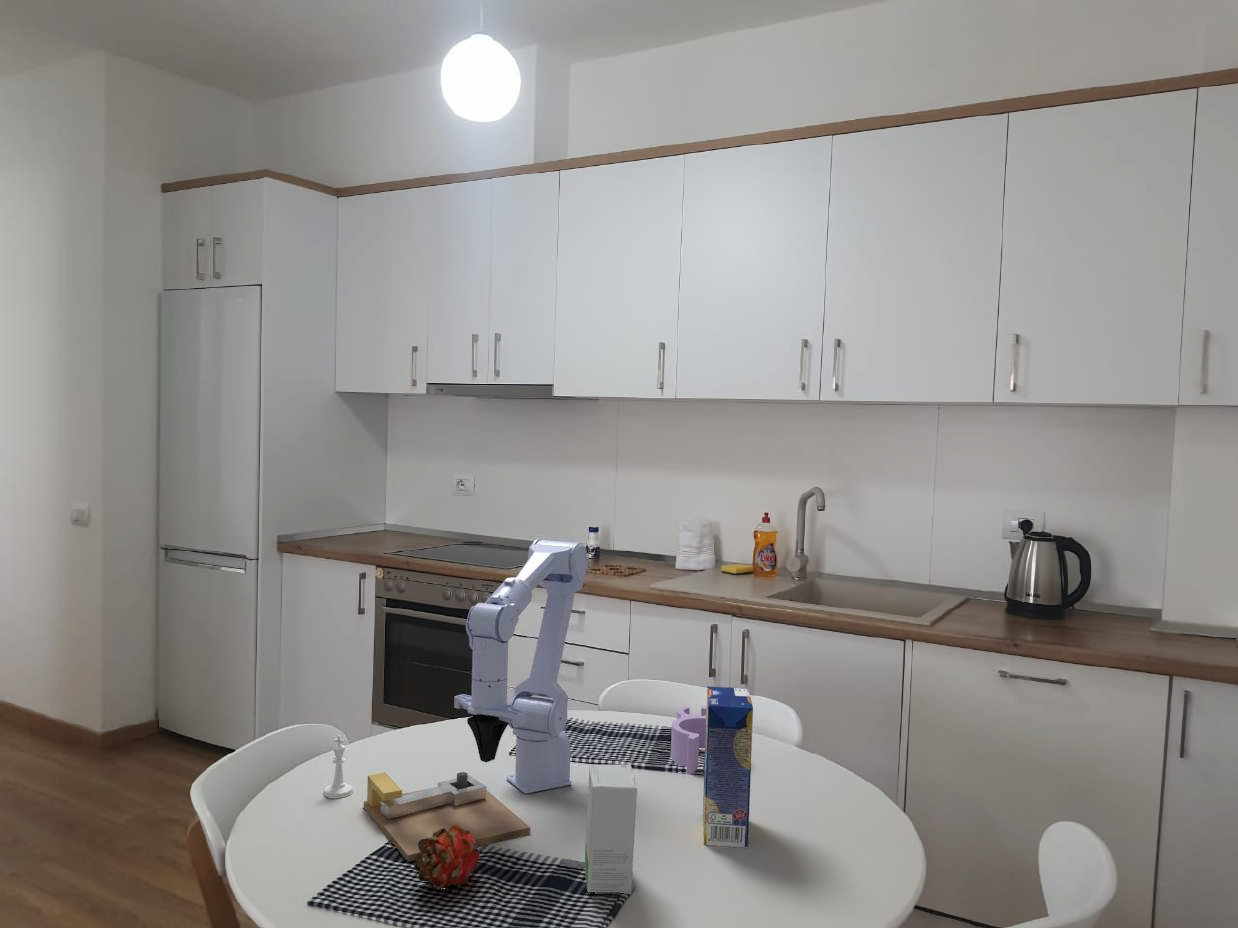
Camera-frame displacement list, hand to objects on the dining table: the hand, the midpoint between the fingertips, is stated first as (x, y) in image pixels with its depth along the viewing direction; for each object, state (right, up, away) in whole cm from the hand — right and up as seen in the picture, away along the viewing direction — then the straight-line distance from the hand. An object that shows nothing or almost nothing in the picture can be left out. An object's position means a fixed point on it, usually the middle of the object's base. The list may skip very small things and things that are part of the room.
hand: (487, 759), depth 150 cm
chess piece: (-27, -9, +9) cm, 30 cm away
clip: (+38, -10, +33) cm, 51 cm away
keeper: (-17, -8, +1) cm, 19 cm away
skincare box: (+20, -12, -19) cm, 30 cm away
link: (-10, -8, +3) cm, 13 cm away
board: (-7, -10, 0) cm, 12 cm away
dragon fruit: (-3, -11, -20) cm, 23 cm away
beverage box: (+38, -11, -1) cm, 40 cm away
